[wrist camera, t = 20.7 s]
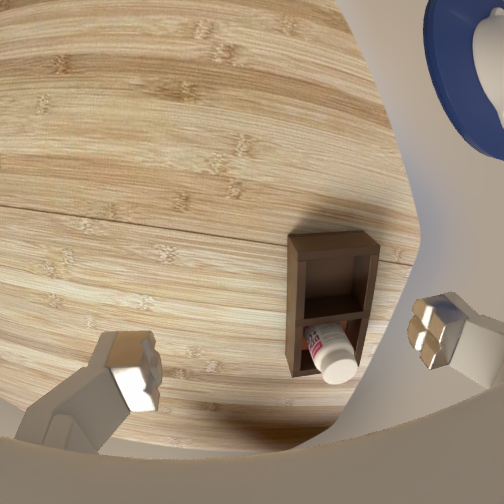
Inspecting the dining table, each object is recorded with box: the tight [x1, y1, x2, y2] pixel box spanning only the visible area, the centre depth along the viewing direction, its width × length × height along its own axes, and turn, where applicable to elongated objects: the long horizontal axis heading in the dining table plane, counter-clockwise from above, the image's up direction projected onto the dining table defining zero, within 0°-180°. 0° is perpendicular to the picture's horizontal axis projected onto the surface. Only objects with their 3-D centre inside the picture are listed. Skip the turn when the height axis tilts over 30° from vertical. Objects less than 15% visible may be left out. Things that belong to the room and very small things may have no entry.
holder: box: [285, 230, 380, 378], centre depth 37 cm, size 17×9×5 cm, turn 2°
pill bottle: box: [303, 322, 358, 384], centre depth 36 cm, size 5×5×8 cm
